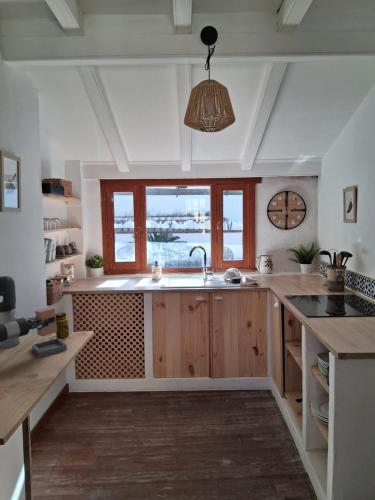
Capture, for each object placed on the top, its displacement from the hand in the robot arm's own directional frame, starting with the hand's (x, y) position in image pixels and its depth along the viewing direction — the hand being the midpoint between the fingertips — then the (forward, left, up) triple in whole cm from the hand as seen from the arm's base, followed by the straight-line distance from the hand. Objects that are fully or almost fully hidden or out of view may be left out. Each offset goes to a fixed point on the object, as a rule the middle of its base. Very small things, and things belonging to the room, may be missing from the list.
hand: (51, 318), depth 169 cm
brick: (+1, -3, -6) cm, 7 cm away
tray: (0, -2, -14) cm, 14 cm away
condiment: (-12, +7, -14) cm, 19 cm away
